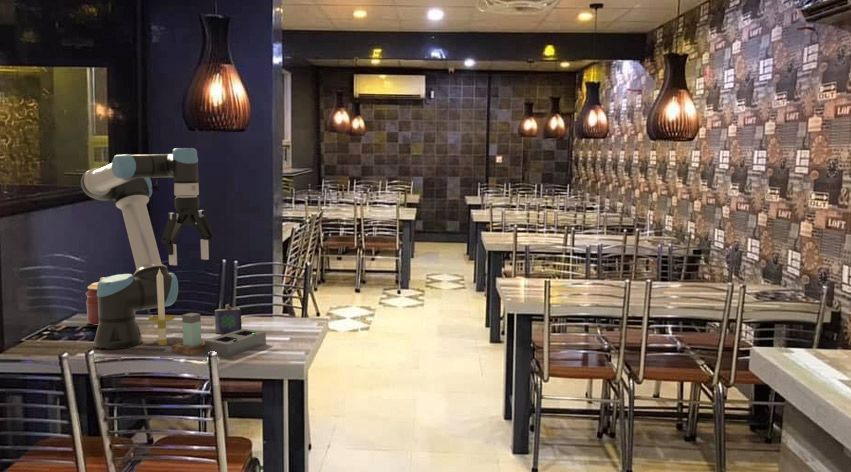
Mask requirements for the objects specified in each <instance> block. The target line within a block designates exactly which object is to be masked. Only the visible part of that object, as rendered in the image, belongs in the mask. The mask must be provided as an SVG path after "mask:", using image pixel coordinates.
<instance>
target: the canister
mask: <svg viewBox="0 0 851 472" xmlns="http://www.w3.org/2000/svg"><path fill="white" fill-rule="evenodd" d="M104 278H106V277H104V276H103V277H100V278H99V281H100V280H102V279H104ZM99 281H98V282H99ZM98 282H93V283H91V284H89V285H88V286H87V289H88V291H86V292H85V295H86V297H87V298H86V301H85V303H86V315H87V316H86V321H87V324H88V323H90V324H99V315H98V298H97V284H98Z"/></svg>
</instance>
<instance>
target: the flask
mask: <svg viewBox="0 0 851 472" xmlns="http://www.w3.org/2000/svg"><path fill="white" fill-rule="evenodd" d="M214 322H215V323H214V327H215V330H214V332H215V334H216V335H219V336H221V335H224V334H227V333H231V332H234V331H237V330H240V329H243V328H242V310H241V308H239V307H238V308H237V307H231V306H230V303H228V304H225V308H222V309H220V308H219V309H215V310H214Z"/></svg>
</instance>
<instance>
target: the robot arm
mask: <svg viewBox="0 0 851 472" xmlns="http://www.w3.org/2000/svg"><path fill="white" fill-rule="evenodd" d="M151 178H152V179H157V178H158V179H159V178H173V195H174V196H176V197H175V198H174V208H175V210H176V212H168V215H167V222H166V225H165V227H164V231H163V233H162V236H161V240H160V242H161V243H162V244H164V245H166V252H167V255H168V264H169V265H170V266H178V254H177V244H175V243H176V241H177V239H178V237H179V235H180V234H181V232H182V230H183V229H184V228H185V227H188V226H193V228H195V230H196V232H197V233H198V234H199V236H200V237H201V238H202V239H200V259H201V260H205V261H207V260H210V258H209V257H210V256H209V255H210V254H209V250H210V240H212V238H213V237H215V233H214V231H213V228H212V226H211V224H210V222H209V220H208V219H209V218H208V217H207V212H206V210H205V209H199V208H200V198H199V195H200V189H199V158H198V151H197V149H196V148H193V147H191V148H189V147H183V148H182V147H180V148H179V147H176V148H173V149H172V153H165V154H163V153H160V154H159V153H156V154H154V153H153V154H128V153H125V154H124V153H123V154H116V155H114V157H113V159H112V160H111V163H109V164H107V165H105V166H102V167H94V168H91V169H88V170H87V171H86V172H84V173H83V175H82V177H81V180H80V186H81V189H82V191H83V192H84V193H85V195H87V196H88V197H90V198H92V199H94V200H97V201H105V202H106V201H108V202H109V201H114V203H115V207H116V208H117V209H119V210H121V212H122V217H123V221H124V223H125V225H124V226H125V228H126V232H127V237H128V241H129V245H130V248H131V251H132V252H131V253H132V256H133V257H132V258H133V260H134V265H135V269H136V270H135V272H134V273H133V274H132V273H122V274H121V273H120V274H115V275H110V276H106V277H105V278H104V279H102V280H100V279H99V281H98V284H97V298H98V315H99V325H98V326H97V329H96V333H95V337H94V340H93V342H94V343H93V344H94V345H95V346H94V347H95V348H97V347H99V348H98V349H101V348H106V349H105V350H116V349H118V348H119V349H125V347H127V348H132V347H135V346H137V345H139V344H141V343H142V342H143V336H142V333H141V330H140V328H139V325H138V323H137V320H136V312H138V311H144V310H145V311H146V310H152V309H158V300H157V277H156V275H157V274H158V272H159V268H160V271H161V273H162V275H163V284H164V307H169V306H170V307H171V306H172V305H173V304H174V303H175V302H176V301H177V298H178V294H179V282H178V278H177V275H176V274H175V273H173V272H169V270H168V266H167V265H164V264H162V260H161V256H160V254H159V253H160V252H159V249H158V245H157V240H156V238H155V233H154V230H153V226H152V222H151V218H150V215H149V211H148V207H147V204H148V203H149V201H150V197H152V194H153V183H152V180H151ZM119 349H118V350H119Z"/></svg>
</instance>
